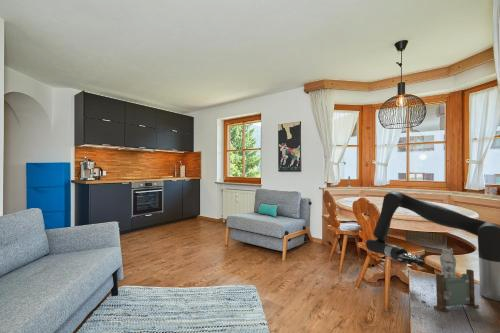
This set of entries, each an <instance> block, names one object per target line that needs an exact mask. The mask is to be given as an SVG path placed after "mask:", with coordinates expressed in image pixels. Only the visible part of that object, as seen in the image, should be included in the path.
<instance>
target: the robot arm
mask: <svg viewBox="0 0 500 333" xmlns="http://www.w3.org/2000/svg"><path fill="white" fill-rule="evenodd" d="M398 208H403V209H406V210H409V211H411V212H413V213H414V214H417V215H418V216H420V217H421V218H423V219H424V220H427V221H428V222H432V223H434V224H436V225H440V226H443V227H446V228H450V229H456V230H462V231H464V232H467V233H470V234H472V235H475V236H477V247H478V249H477V251H478V252H477V253H478V273H479V274H478V275H479V278H478V279H479V294H480V295H481V296H482V297H485V298H487V299H490V300H492V301H499V302H500V225H499V224H496V223H494V222H490V221H485V220H481V219H477V218H473V217H471V216H467V215H465V214H462V213H460V212H457V211H455V210H452V209H449V208H448V207H444V206H441V205H438V204H434V203H432V202H428V201H424V200H420V199H418V198H414V197H412V196H409V195H407V194H405V193H403V192H401V191H397V190H392V191H389V192H388V193H386V194H385V195H384V196H383V199H382V206H381V210H380V214H379V217H378V219H377V222H376V224H375V227H374V230H373V231H372V234H373V236H374V237H375V238H376V239H375V238H371V239H370V238H369V239H367V240H366V242H365V247H366V249H367V250H368V251H370V252H373V253H376V254H381V255H383V256H385V257H387V258H388V259H391V260H393V261H396V262H398V263H402V264H404V263H405V264H409V265H410V264H413V265H415V264H416V265H418V266H421V267H422V266H424V267H425V264H426V263H425V261H424V260H423V259H421V256H420V254H418V253H416V254H415V255H413V253H410V252H408V251H407V249H405V248H404V247H400V246H397V245H396V244H395V245H394V244H390V243H387V242H386V238H387V236H388V232H389V230H390V227H391V222H392V219H393V216H394V214H395V213H396V211H397V209H398Z"/></svg>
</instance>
